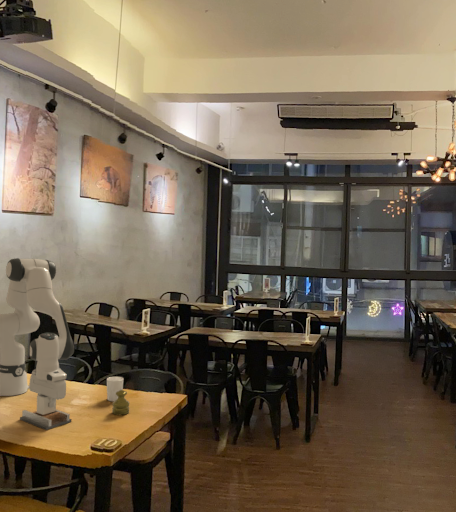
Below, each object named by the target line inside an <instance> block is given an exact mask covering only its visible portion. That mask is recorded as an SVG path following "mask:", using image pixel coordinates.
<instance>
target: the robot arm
mask: <svg viewBox="0 0 456 512" xmlns="http://www.w3.org/2000/svg"><path fill="white" fill-rule="evenodd" d="M5 273H6V275H5V276H6V277H7V278H8V280H9V283H8V284H9V285H8V289H7V294H6V303H7V305H8V306H10V307H11V308H13V309H14V311H13V312H11V313H10V312H9V313H0V396H1V397H2V396H5V397H8V396H9V397H10V396H18V395H22V394H24V393H26V392H28V389H29V391H30V392H32V393H36V394H37V396H38V395H44V396H47V397H50V403H48V407H50V408H52V407H54V402H55V400H56V401H57V400H58V401H59V400H63V399H65V397H66V394H67V382H66V379H67V373H66V372H64V370H62V369H61V368H60V363H59V360H60V361H61V360H68V359H70V358H71V357H72V355H73V354H74V353H75V345H74V344H75V343H74V340H73V339H72V336H71V332H70V329H69V325H68V321H67V316H66V313H65V309H64V307H63V305H62V303H61V302H60V301H58V300H57V299H56V297H55V294H54V292H53V291H54V289H53V282H52V281H53V279H55V277H56V273H57V267H56V264H55V263H54V261H52V260H50V259H49V260H48V259H41V258H19V257H17V258H15V257H14V258H11V259H10V260H9V261H8V262H7V264H6V266H5ZM34 310H35V311H36V312H39V313H41V314H44V315H45V314H46V315H48V316H50V317H51V318H53V319H54V321H55V325H56V328H57V331H58V334H56V333H55V332H44V333H41V334H39V336H38V338H34V339H33V340H32V341H30V343H29V346H28V347H29V349H28V357H29V358H30V359H32V360H33V361H35V362H36V361H37V362H36V366H35V367H36V368H35V369H33V370H32V372H31V374H30V378H29V384H28V375H27V371H26V367H27V365H26V362H25V359H26V356H25V355H26V353H25V352H26V348H25V346H24V344H22V343H21V342H18V341H16V339H15V338H16V336H21V335H28V334H30V333H33V332H36V331H37V330H38V329H39V327H40V325H41V321H40V317H39V315H38V314H37V313H36V312H35V311H34ZM58 335H59V336H58Z"/></svg>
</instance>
